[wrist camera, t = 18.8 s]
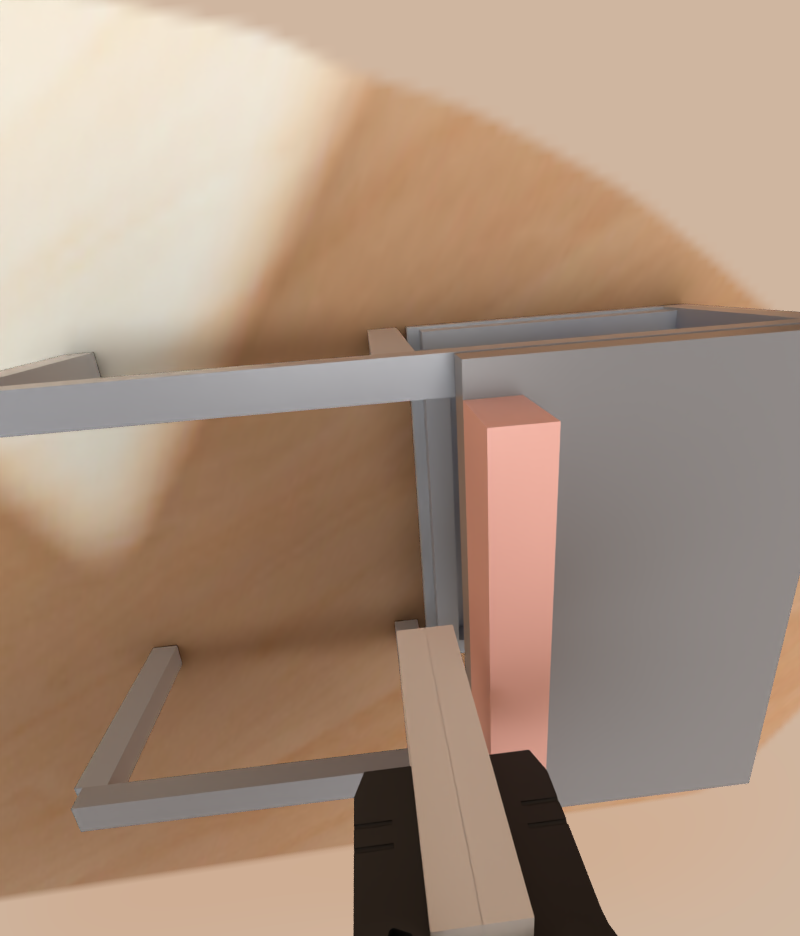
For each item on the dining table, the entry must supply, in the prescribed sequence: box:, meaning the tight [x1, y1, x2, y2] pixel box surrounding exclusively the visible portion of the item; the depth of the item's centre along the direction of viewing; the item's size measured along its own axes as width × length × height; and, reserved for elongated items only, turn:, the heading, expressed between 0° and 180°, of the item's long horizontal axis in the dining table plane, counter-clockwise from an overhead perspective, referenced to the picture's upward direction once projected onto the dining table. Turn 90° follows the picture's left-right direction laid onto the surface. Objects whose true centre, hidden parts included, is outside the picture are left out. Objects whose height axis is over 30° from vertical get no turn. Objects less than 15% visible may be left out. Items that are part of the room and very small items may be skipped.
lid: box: [454, 324, 800, 807], centre depth 14 cm, size 10×16×4 cm, turn 4°
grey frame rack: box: [0, 304, 800, 832], centre depth 20 cm, size 26×16×8 cm, turn 94°
